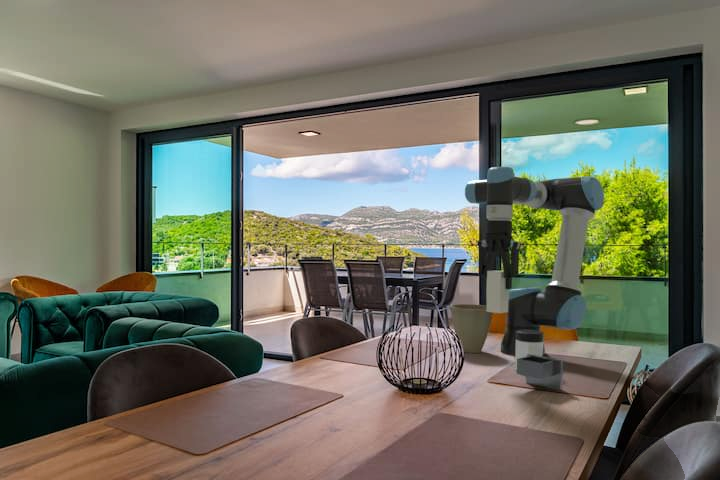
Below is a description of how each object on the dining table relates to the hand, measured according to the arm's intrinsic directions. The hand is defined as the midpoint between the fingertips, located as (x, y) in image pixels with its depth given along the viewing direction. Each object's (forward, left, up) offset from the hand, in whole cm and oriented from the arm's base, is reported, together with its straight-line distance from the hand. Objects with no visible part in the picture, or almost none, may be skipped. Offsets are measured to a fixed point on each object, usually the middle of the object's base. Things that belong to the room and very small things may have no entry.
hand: (497, 299), depth 161 cm
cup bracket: (+4, +15, -23) cm, 27 cm away
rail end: (0, 0, -4) cm, 4 cm away
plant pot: (-24, -25, -23) cm, 42 cm away
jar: (-14, +3, -23) cm, 27 cm away
